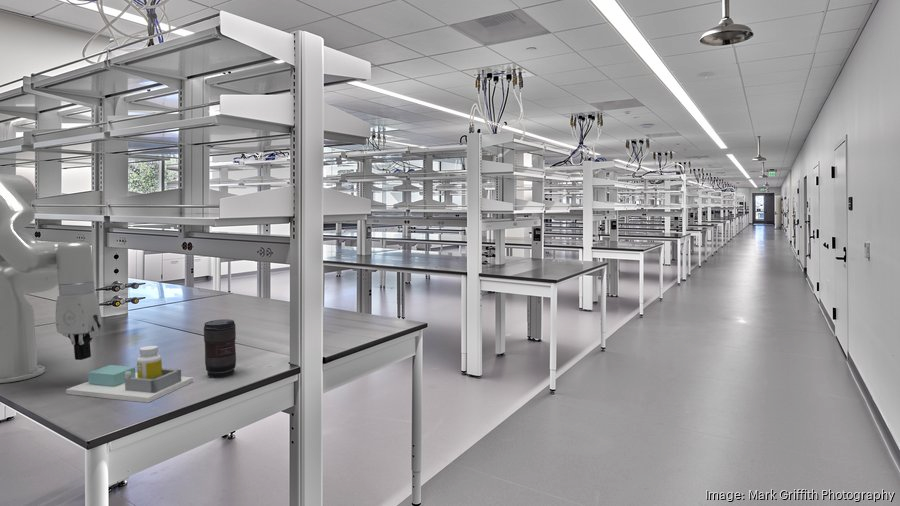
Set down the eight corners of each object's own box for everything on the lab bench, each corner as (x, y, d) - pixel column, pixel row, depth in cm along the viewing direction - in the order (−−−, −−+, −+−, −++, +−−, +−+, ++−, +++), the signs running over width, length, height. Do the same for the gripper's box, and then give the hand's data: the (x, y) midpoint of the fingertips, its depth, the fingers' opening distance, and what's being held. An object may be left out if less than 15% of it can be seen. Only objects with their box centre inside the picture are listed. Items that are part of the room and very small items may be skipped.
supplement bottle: (166, 381, 131) (165, 344, 130) (155, 388, 126) (153, 350, 125) (145, 381, 131) (144, 344, 130) (133, 388, 126) (131, 350, 125)
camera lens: (240, 368, 146) (238, 318, 144) (232, 378, 138) (230, 324, 136) (210, 370, 144) (208, 318, 143) (201, 379, 136) (199, 325, 135)
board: (66, 393, 125) (65, 371, 124) (118, 374, 140) (117, 354, 139) (148, 402, 120) (147, 379, 119) (192, 381, 134) (192, 361, 134)
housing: (88, 383, 129) (88, 372, 128) (110, 375, 135) (109, 364, 135) (114, 386, 127) (114, 374, 127) (135, 378, 133) (135, 367, 133)
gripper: (39, 291, 129) (46, 361, 130) (87, 291, 126) (93, 363, 127) (67, 287, 136) (73, 353, 138) (113, 287, 133) (118, 355, 134)
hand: (83, 358), depth 132 cm, fingers closed
